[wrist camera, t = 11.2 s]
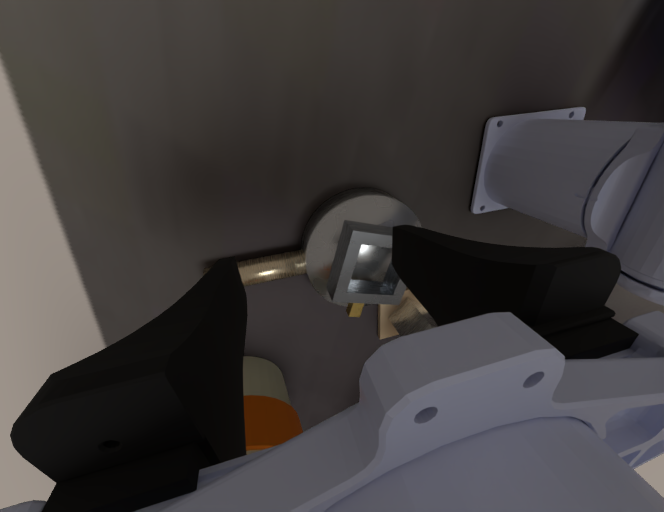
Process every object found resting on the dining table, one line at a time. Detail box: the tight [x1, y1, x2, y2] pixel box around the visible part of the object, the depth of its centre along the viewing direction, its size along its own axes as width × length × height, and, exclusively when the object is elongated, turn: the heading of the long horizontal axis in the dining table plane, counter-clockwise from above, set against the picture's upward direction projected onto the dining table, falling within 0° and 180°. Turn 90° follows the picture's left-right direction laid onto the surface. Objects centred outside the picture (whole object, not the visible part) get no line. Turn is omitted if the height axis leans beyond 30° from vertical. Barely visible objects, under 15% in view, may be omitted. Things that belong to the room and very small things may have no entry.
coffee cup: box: [605, 283, 664, 324], centre depth 28 cm, size 10×10×15 cm
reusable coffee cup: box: [243, 356, 303, 455], centre depth 22 cm, size 13×12×15 cm
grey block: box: [388, 297, 438, 337], centre depth 26 cm, size 5×3×7 cm, turn 52°
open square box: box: [326, 220, 406, 317], centre depth 21 cm, size 6×8×2 cm
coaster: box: [378, 287, 422, 339], centre depth 29 cm, size 6×6×1 cm
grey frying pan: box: [203, 188, 422, 306], centre depth 22 cm, size 18×10×2 cm, turn 95°
